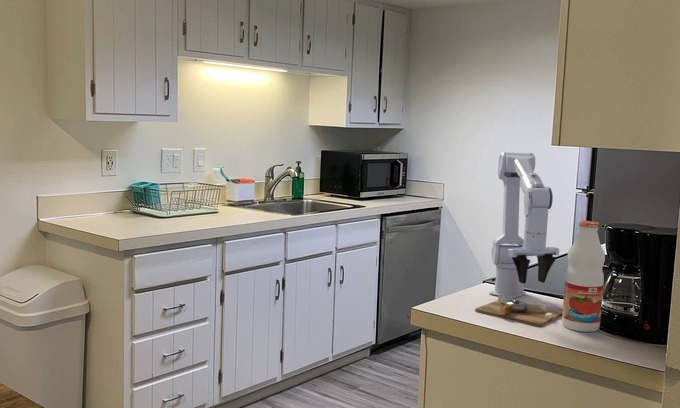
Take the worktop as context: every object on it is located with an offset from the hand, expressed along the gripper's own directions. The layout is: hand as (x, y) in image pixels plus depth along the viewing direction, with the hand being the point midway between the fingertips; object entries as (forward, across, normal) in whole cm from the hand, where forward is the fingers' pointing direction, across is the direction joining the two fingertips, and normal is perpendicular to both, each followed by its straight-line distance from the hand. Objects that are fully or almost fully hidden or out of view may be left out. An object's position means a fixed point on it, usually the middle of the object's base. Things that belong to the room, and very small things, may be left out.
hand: (531, 282), depth 176 cm
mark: (+10, +5, -2) cm, 12 cm away
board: (+10, 0, +6) cm, 12 cm away
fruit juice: (+11, +10, -9) cm, 17 cm away
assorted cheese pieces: (+9, -1, +6) cm, 11 cm away
